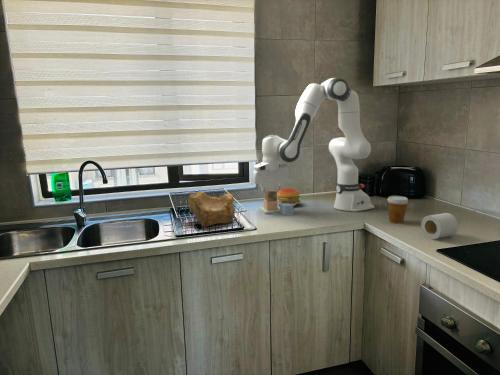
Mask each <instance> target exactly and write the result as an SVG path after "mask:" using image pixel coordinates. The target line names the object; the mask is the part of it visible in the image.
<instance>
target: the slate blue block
mask: <svg viewBox="0 0 500 375" xmlns="http://www.w3.org/2000/svg"><path fill="white" fill-rule="evenodd" d="M279 208H280V212H279V213H281V214H282V215H283V216H289V215H290V216H291V215H294V206H293V205H292V204H290V203H281V204H280V205H279Z"/></svg>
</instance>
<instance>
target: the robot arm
mask: <svg viewBox="0 0 500 375" xmlns="http://www.w3.org/2000/svg"><path fill="white" fill-rule="evenodd" d="M325 100H330V101H335V102H336V103H337V107H338V108H337V109H338V110H337V112H338V114H337V120H338V121H337V122H338V123H337V124H338V129H340V130H341V131H342V133H343V134H344V136H343V137H342V136H341V137H335V138H332V139H331V140H330V142H329V143H328V150H329V153H330V154H331V156H332V157H333V159H334V161H335V164H336V168H337V169H336V170H337V179H336V180H337V182H336V189H335V190H336V191H335V192H336V193H335V194H336V196H335V200H334V204H333V208H334V209H336V210H338V211H339V210H341V211H348V212H355V213H356V212H361V211H366V210H371V209H374V208H375V205H374V204H372V203H371V198H370V196H369V194H367V193H366V192H364V191H363V188H365V184H363V183H359V168H358V167H357V165H355V163H354V161H353V159H354V160H361V159H362V160H364V159H367V158H368V157H369V156H370V154H371V151H372V147H371V146H372V145H371V144H370V142H369V141H368V140H367V139H366V137H365V135H364V134H363V131H362V128H361V116H360V115H361V113H360V112H361V111H360V98H359V95H358V93H357V92H356V91H355V90H352V89H351V88H350V87H349V84H348V82H347V81H346V80H345V79H344V78H342V77H331V78H327V79H325V80H324V81H322V82H320V84H318V83H315V82H313V83H310V84H308V86H306V88H305V90H304V91H303V93H302V94H301V96H300V97H299V100H298V102H297V103H296V107H295V110H294V111H295V112H294V115H295V125H294V127H293V129H292V132H291V134H290V136H289V138H288V139H284V138H282V137H280V136H278V135H277V134H269V135H266V136H264V138H263V139H262V144H261V153H262V161H261V162H259V163H256V164H255V165H254V166H253V169H254V170H253V172H252V182H253V184H254V185H258V186H259V187H260V189H261V192H264V191H265V190H266V188H265V187H264V184H269V183H270V184H271V183H279V184H278V185H277V190H278V191H280V190H281V189H282V186H283V185H284V182H288V181H290V173H289V169H290V168H289V164H286V163H293V162H295V161H296V160H298V158H299V156H300V154H301V153H300V152H301V144H302V142H303V139H304V137H305V135H306V133H307V131H308V128H309V126H310V124H311V122H312V121H313V119H314V118H315V116H316V114H317V112H318V110H319V108H320V107H321V105H322V103H323V101H325ZM280 159H281V160H282V161H283V162H286V163H283V164H280ZM361 188H362V189H361Z"/></svg>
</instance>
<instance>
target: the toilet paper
mask: <svg viewBox="0 0 500 375" xmlns="http://www.w3.org/2000/svg"><path fill="white" fill-rule="evenodd" d="M458 223H459V222H458V220H457V218H456V216H454V215H453V214H452V213H449V212H443V213H436V214H431V215H426V216H424V218H422V220H421V223H420V227H421V228H420V229H421V231H422V233H423V235H424V236H425V237H426V238H428V239H430V240H436V239H441V238H447V237H451V236H454V235H456V233H457V232H458V230H459V224H458Z"/></svg>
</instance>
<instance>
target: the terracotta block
mask: <svg viewBox="0 0 500 375" xmlns="http://www.w3.org/2000/svg"><path fill="white" fill-rule="evenodd" d="M263 207H264V209H266V210H267V211H270V210H278V208H279V204H278V201H271V202H268V201H266V200H265V199H264V198H263Z"/></svg>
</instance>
